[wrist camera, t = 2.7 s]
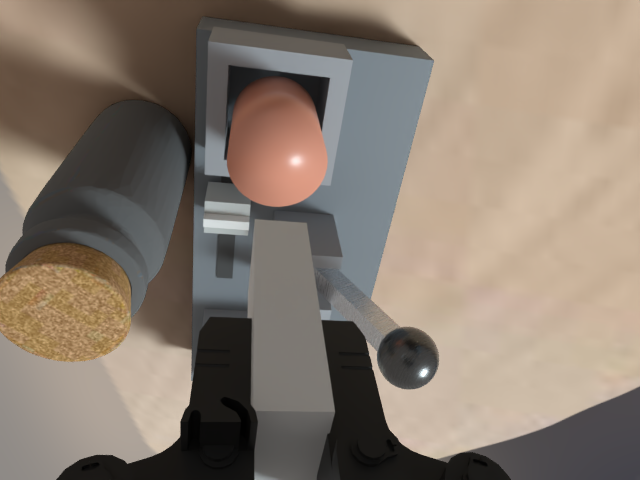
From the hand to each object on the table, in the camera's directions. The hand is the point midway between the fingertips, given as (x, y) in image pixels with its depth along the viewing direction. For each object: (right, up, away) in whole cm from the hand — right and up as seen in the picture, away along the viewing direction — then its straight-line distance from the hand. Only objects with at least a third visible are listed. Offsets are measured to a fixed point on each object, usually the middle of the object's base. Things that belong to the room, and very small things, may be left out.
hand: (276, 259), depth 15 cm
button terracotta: (-1, +6, +9) cm, 11 cm away
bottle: (-9, +6, +15) cm, 19 cm away
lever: (0, 0, +16) cm, 16 cm away
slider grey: (-4, +3, +14) cm, 15 cm away
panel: (-1, +2, +19) cm, 19 cm away
